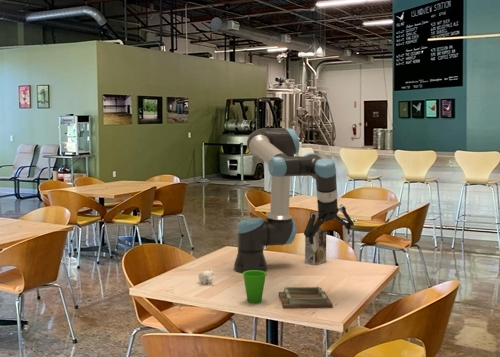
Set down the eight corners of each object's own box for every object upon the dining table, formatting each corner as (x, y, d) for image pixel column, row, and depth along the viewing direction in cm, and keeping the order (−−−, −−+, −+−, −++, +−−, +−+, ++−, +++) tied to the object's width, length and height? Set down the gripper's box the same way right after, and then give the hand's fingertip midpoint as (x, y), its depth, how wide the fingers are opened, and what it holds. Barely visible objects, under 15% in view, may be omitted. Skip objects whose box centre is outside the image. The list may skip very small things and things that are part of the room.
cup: (249, 307, 202) (249, 277, 201) (238, 300, 210) (238, 271, 209) (270, 303, 206) (271, 274, 205) (259, 296, 214) (259, 268, 213)
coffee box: (315, 260, 273) (316, 227, 271) (326, 262, 268) (327, 229, 267) (304, 263, 266) (304, 230, 265) (314, 265, 262) (315, 232, 260)
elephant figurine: (206, 287, 227) (206, 272, 226) (193, 283, 232) (193, 269, 231) (218, 283, 232) (218, 269, 231) (205, 280, 237) (205, 266, 236)
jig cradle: (278, 294, 216) (278, 286, 216) (324, 294, 217) (324, 286, 217) (283, 308, 200) (283, 299, 200) (332, 307, 201) (332, 299, 201)
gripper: (300, 210, 204) (304, 258, 213) (361, 195, 209) (363, 242, 219) (292, 201, 211) (297, 248, 220) (352, 187, 216) (354, 233, 225)
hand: (330, 245), depth 219 cm, fingers open, 13 cm apart
